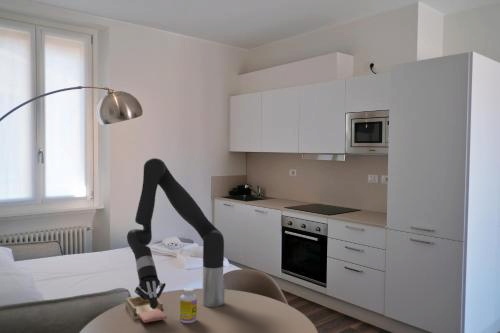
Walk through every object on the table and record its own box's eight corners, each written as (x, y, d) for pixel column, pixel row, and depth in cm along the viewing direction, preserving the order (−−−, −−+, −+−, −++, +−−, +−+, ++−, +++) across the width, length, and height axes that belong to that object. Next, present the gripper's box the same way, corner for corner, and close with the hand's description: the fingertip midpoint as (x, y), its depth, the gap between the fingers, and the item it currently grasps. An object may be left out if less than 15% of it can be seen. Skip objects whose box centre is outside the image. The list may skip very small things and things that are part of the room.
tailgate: (159, 309, 165) (166, 315, 158) (159, 312, 165) (166, 319, 158) (137, 313, 161) (144, 320, 153) (137, 316, 161) (144, 323, 153)
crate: (152, 304, 179) (152, 294, 179) (163, 315, 166) (163, 304, 166) (125, 308, 172) (125, 298, 172) (134, 320, 160) (134, 309, 160)
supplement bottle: (193, 324, 157) (193, 292, 157) (177, 322, 158) (177, 290, 158) (198, 318, 163) (199, 287, 163) (183, 316, 165) (184, 285, 165)
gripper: (132, 266, 161) (139, 306, 151) (163, 262, 168) (173, 300, 158) (128, 276, 166) (135, 315, 155) (159, 272, 173) (168, 309, 162)
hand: (154, 307), depth 156 cm, fingers closed
